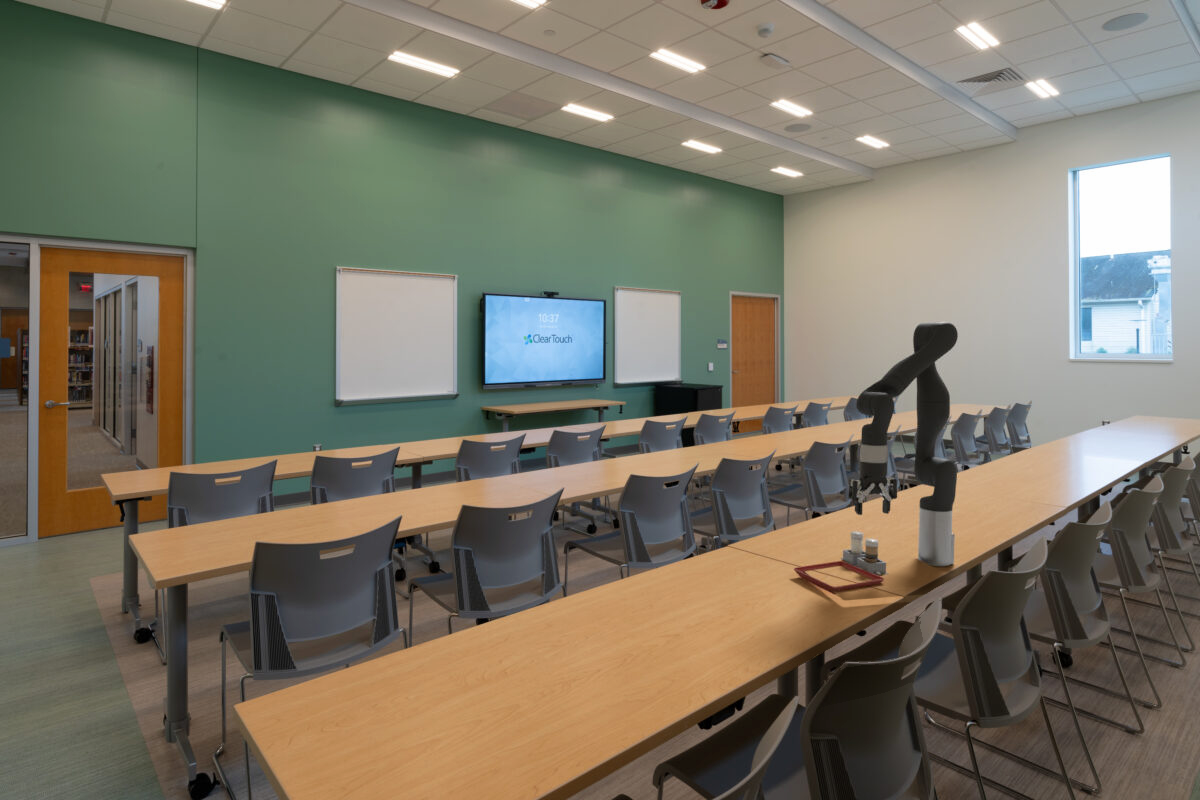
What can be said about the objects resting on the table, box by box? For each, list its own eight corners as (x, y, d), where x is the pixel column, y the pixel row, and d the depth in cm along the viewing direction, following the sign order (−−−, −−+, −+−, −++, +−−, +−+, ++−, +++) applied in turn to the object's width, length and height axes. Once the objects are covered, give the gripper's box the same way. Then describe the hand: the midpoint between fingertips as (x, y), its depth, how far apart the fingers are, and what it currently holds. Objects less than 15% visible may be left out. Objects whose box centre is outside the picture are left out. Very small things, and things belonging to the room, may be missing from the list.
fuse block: (858, 561, 207) (858, 547, 207) (889, 578, 192) (889, 563, 191) (840, 562, 206) (840, 548, 206) (869, 580, 191) (869, 565, 190)
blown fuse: (873, 567, 197) (873, 538, 196) (880, 571, 193) (880, 541, 193) (862, 568, 196) (862, 539, 196) (869, 572, 193) (869, 542, 192)
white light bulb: (858, 559, 205) (859, 531, 204) (865, 563, 201) (865, 534, 201) (848, 560, 204) (848, 531, 204) (854, 563, 201) (854, 535, 200)
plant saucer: (792, 578, 194) (792, 567, 194) (841, 570, 201) (841, 559, 200) (833, 599, 177) (834, 587, 177) (885, 590, 184) (886, 578, 184)
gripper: (888, 456, 197) (886, 509, 199) (844, 458, 195) (843, 511, 196) (903, 460, 190) (902, 515, 191) (858, 462, 188) (857, 518, 189)
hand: (872, 513), depth 194 cm, fingers open, 8 cm apart
